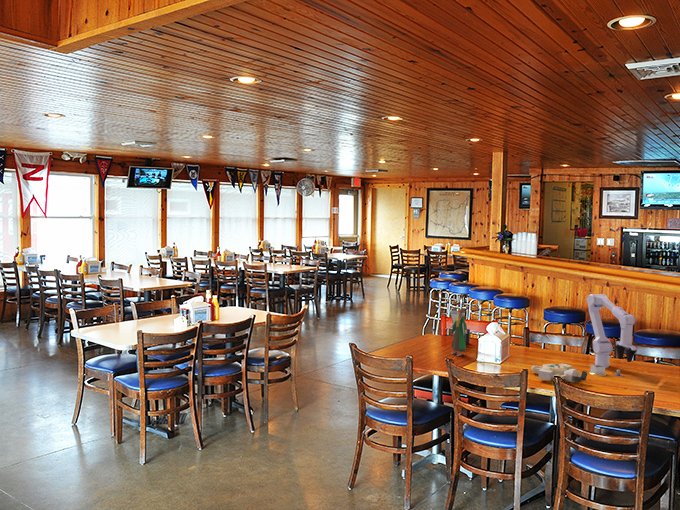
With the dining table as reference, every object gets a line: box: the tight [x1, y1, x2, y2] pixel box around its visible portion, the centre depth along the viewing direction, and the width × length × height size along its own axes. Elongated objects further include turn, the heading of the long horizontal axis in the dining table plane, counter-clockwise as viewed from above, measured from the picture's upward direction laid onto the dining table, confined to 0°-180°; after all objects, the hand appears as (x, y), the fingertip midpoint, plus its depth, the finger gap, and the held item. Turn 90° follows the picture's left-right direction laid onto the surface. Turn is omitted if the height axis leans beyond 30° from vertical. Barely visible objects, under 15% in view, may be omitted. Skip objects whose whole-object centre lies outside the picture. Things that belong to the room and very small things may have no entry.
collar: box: [589, 364, 606, 376], centre depth 328 cm, size 5×5×4 cm
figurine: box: [449, 307, 468, 357], centre depth 370 cm, size 16×7×30 cm, turn 27°
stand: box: [613, 369, 624, 378], centre depth 326 cm, size 4×4×4 cm
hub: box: [588, 371, 607, 377], centre depth 328 cm, size 9×9×4 cm
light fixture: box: [449, 310, 471, 345], centre depth 399 cm, size 11×17×24 cm, turn 152°
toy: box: [531, 363, 588, 383], centre depth 321 cm, size 25×8×30 cm
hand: (624, 360), depth 328 cm, fingers open, 7 cm apart
